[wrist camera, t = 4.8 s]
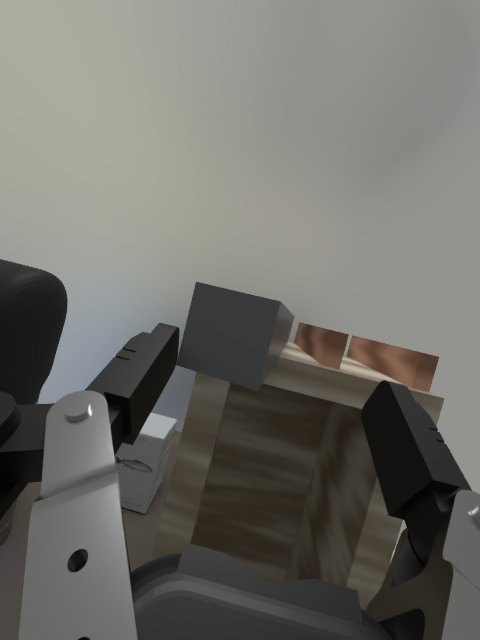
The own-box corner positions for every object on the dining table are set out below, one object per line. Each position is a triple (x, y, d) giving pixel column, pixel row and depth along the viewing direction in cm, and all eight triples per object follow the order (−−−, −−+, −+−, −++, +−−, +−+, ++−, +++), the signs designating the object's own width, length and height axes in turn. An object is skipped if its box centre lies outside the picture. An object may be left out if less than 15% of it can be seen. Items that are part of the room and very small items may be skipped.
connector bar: (257, 391, 8) (280, 301, 8) (176, 364, 9) (196, 281, 9) (287, 342, 29) (294, 316, 29) (262, 335, 29) (268, 310, 29)
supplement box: (99, 503, 39) (117, 426, 39) (123, 473, 47) (139, 407, 46) (145, 517, 39) (164, 438, 38) (162, 484, 46) (178, 418, 46)
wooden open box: (317, 834, 18) (455, 361, 16) (100, 764, 18) (212, 300, 17) (289, 614, 31) (365, 338, 29) (162, 577, 31) (229, 305, 30)
